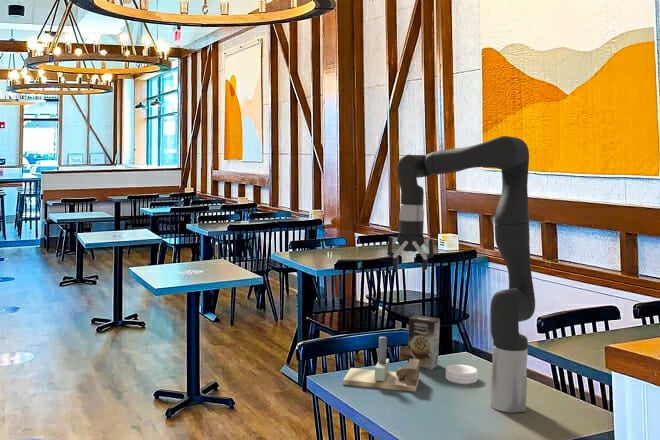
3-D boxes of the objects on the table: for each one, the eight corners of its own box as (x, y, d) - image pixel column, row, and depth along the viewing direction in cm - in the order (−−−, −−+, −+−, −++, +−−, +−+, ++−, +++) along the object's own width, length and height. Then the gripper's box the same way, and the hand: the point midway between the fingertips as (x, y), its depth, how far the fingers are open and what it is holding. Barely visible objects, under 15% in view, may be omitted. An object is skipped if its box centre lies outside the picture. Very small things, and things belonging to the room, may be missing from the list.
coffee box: (406, 365, 210) (408, 318, 208) (413, 360, 215) (414, 314, 214) (432, 369, 205) (434, 321, 204) (438, 364, 211) (440, 317, 210)
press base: (419, 378, 196) (419, 358, 195) (415, 391, 184) (416, 370, 184) (350, 372, 201) (351, 352, 200) (342, 384, 189) (343, 363, 189)
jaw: (388, 371, 197) (389, 333, 196) (384, 381, 187) (385, 342, 186) (379, 370, 198) (380, 333, 197) (374, 380, 188) (375, 341, 187)
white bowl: (484, 382, 194) (484, 371, 194) (456, 386, 190) (457, 375, 190) (465, 373, 203) (466, 362, 203) (439, 376, 200) (439, 365, 199)
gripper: (435, 219, 196) (433, 270, 197) (390, 217, 199) (388, 267, 200) (433, 220, 189) (432, 273, 190) (387, 219, 192) (385, 271, 193)
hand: (409, 270), depth 195 cm, fingers open, 8 cm apart
